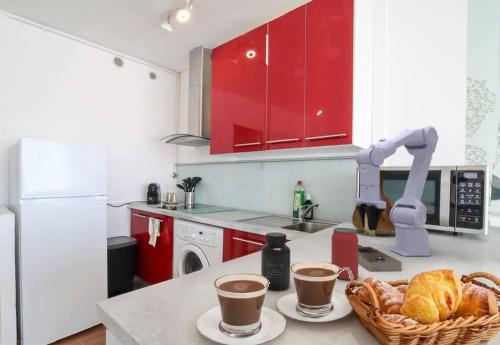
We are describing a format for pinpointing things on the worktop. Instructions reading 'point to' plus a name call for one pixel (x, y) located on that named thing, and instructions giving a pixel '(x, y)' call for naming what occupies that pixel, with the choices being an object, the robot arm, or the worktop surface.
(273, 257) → the supplement bottle
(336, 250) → the beer can
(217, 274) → the worktop surface
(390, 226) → the ceramic pitcher
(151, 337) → the worktop surface
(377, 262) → the door strike plate
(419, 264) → the worktop surface
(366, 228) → the brass pin
